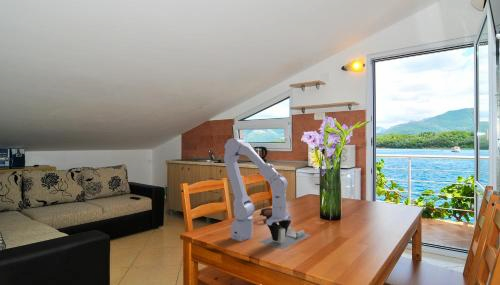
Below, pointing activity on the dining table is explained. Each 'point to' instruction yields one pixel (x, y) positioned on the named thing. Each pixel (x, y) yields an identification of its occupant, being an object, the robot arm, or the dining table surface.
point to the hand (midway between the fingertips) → (279, 238)
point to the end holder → (294, 233)
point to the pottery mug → (266, 213)
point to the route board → (285, 244)
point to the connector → (281, 235)
